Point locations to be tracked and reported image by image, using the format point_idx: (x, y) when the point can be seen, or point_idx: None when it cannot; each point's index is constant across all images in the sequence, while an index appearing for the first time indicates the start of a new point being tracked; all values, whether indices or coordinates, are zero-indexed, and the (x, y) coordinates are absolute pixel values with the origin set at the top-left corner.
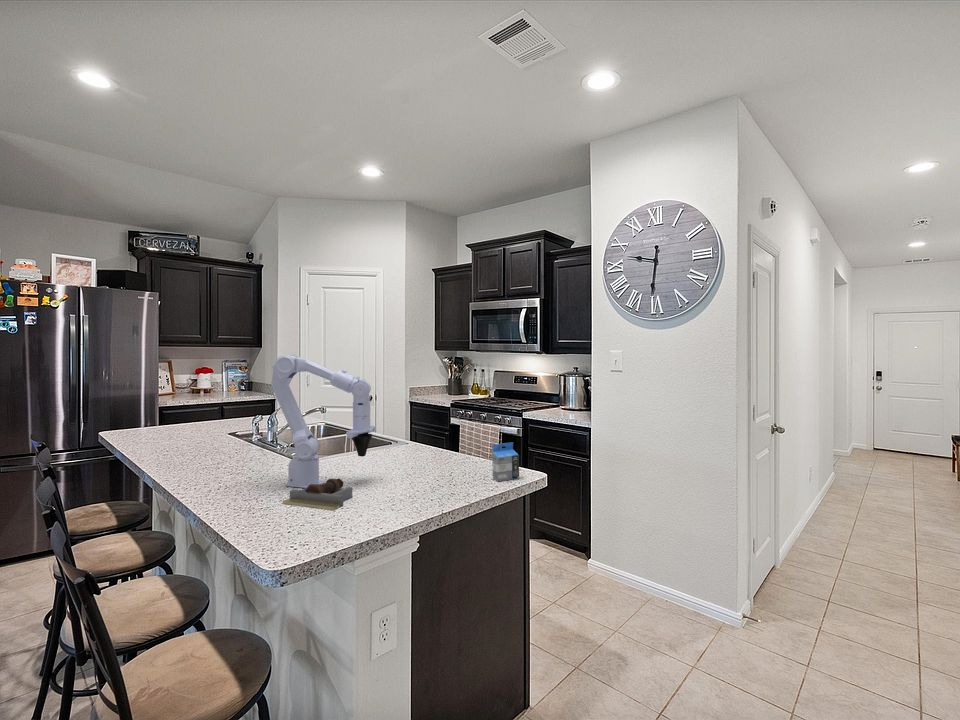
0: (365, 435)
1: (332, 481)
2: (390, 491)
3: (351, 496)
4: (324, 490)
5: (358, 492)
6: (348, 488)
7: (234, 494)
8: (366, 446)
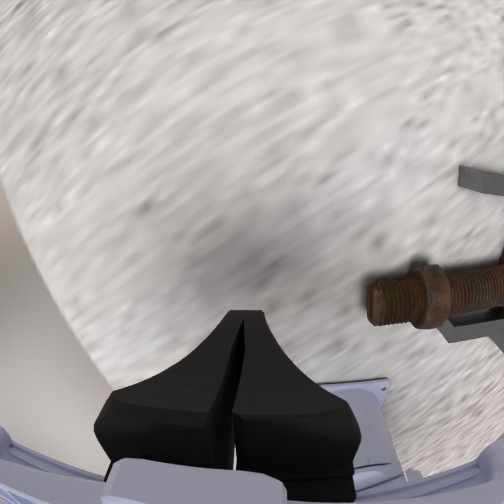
0: (213, 465)
1: (449, 298)
2: (330, 42)
3: (465, 166)
4: (497, 271)
5: (397, 178)
6: (494, 179)
7: (436, 455)
8: (224, 348)
